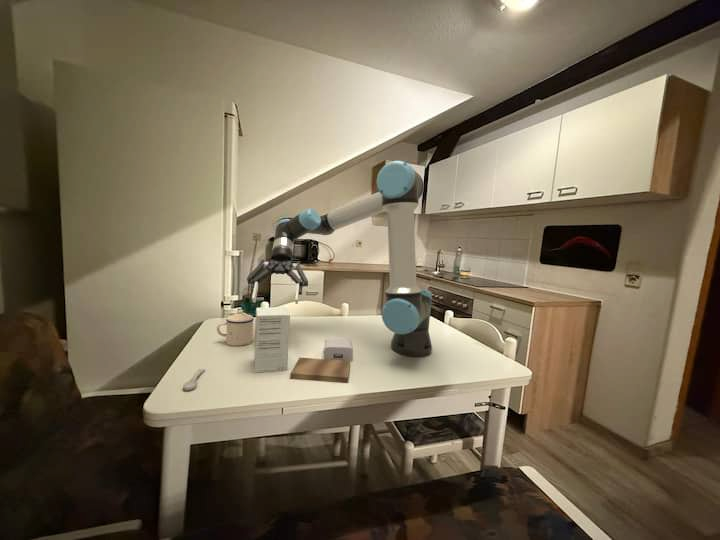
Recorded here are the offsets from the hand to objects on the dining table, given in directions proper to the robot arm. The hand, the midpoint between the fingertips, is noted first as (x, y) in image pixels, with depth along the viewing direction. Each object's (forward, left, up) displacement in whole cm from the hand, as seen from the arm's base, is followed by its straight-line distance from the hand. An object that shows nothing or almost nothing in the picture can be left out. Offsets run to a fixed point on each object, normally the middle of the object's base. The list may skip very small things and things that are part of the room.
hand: (275, 301), depth 95 cm
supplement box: (-2, +9, -18) cm, 20 cm away
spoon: (+14, +21, -18) cm, 31 cm away
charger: (-21, -5, -18) cm, 28 cm away
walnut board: (-18, +11, -18) cm, 27 cm away
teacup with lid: (+16, -7, -18) cm, 25 cm away
